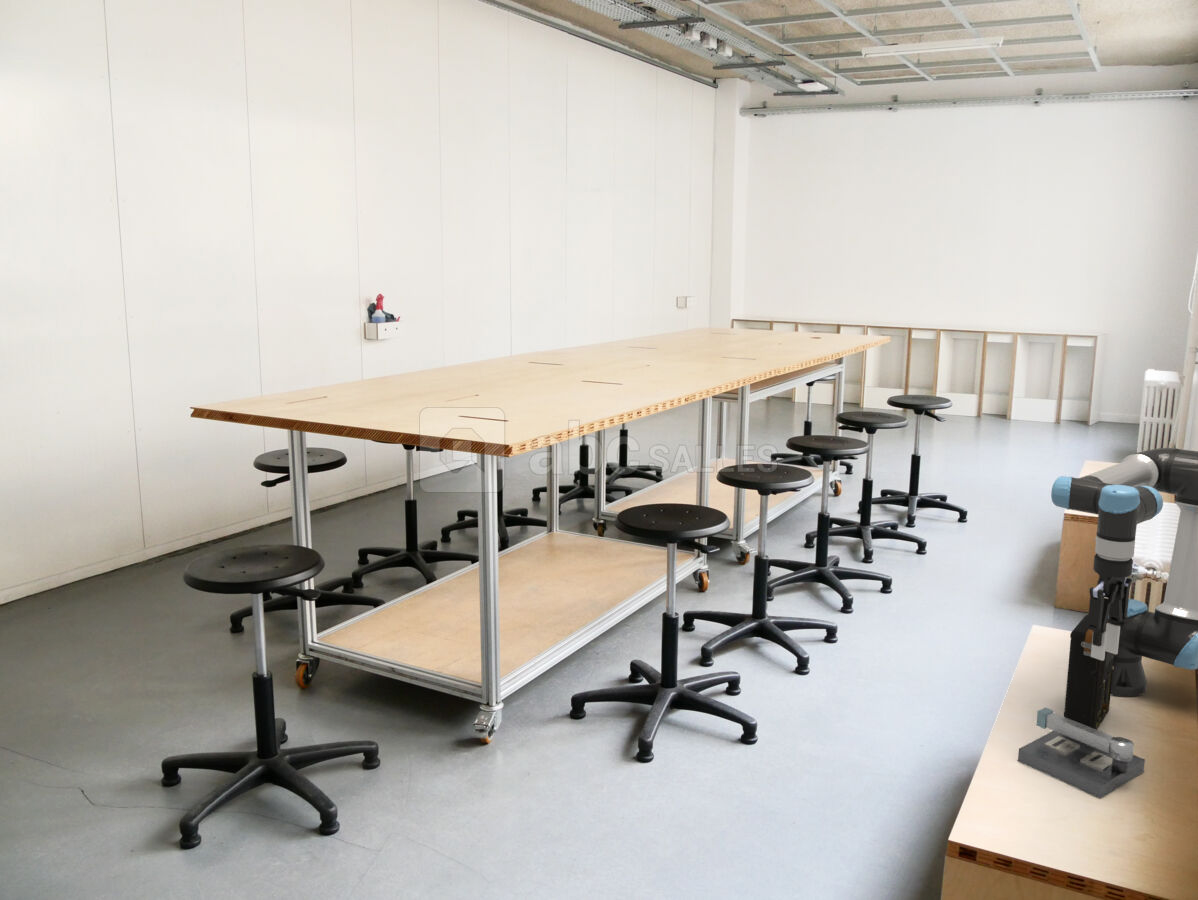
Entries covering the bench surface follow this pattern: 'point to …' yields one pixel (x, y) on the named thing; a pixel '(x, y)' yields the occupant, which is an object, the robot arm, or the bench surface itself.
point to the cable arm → (1086, 735)
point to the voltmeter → (1087, 679)
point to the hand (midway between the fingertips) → (1104, 655)
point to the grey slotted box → (1079, 763)
